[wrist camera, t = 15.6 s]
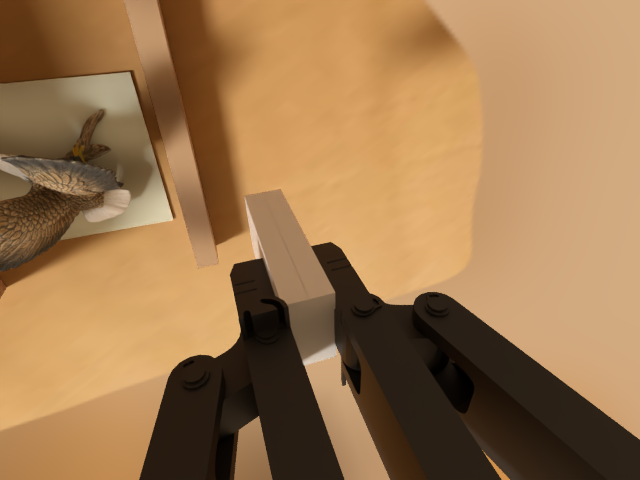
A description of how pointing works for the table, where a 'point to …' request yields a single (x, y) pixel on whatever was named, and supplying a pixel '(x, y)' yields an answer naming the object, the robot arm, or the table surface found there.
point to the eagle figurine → (56, 197)
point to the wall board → (114, 135)
